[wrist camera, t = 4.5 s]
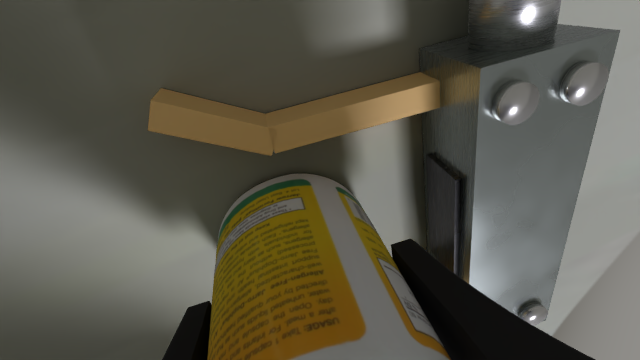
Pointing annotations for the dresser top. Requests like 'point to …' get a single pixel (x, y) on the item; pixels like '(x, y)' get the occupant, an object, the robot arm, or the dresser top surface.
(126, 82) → the dresser top surface
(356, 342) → the supplement bottle
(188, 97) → the guard rails
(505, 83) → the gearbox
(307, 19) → the dresser top surface
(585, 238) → the dresser top surface
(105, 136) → the dresser top surface
